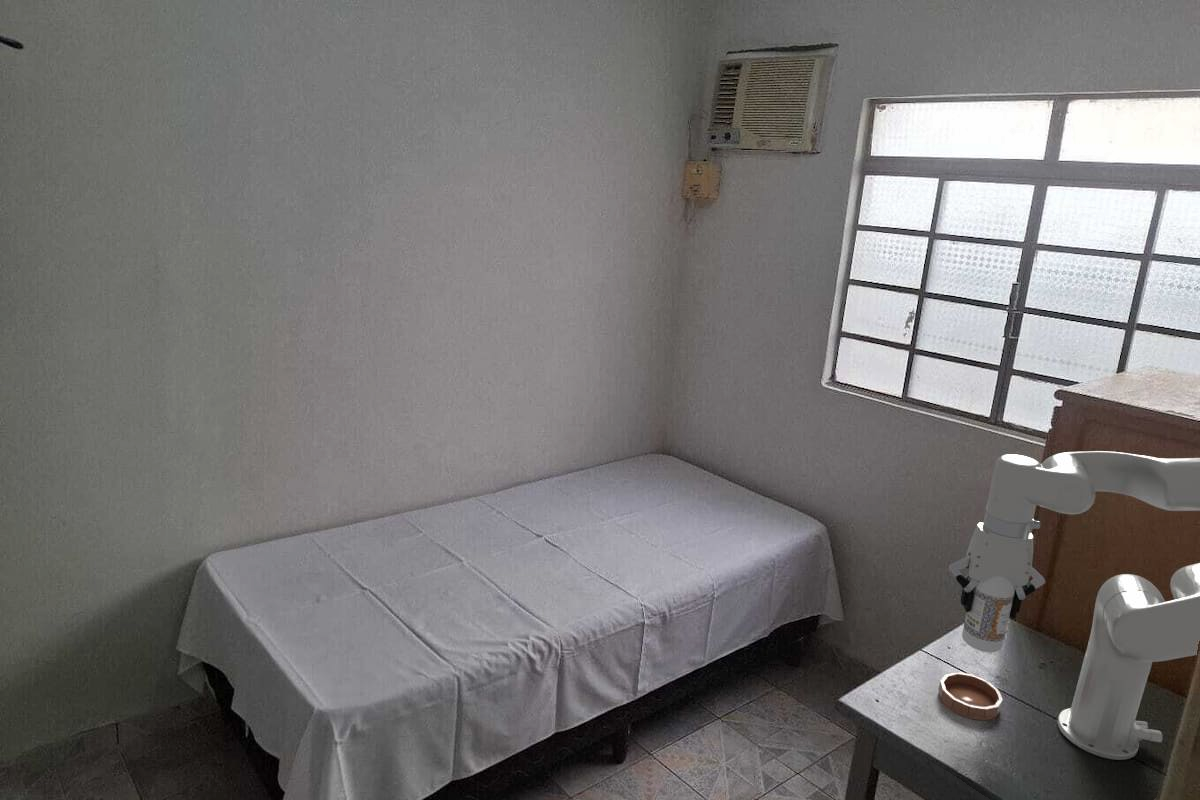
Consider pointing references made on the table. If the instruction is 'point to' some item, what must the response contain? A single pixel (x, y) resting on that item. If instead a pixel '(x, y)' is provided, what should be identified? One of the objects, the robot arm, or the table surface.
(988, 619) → the bath foam
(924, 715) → the table surface
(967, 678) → the ring dish
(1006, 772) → the table surface
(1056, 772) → the table surface
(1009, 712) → the table surface
